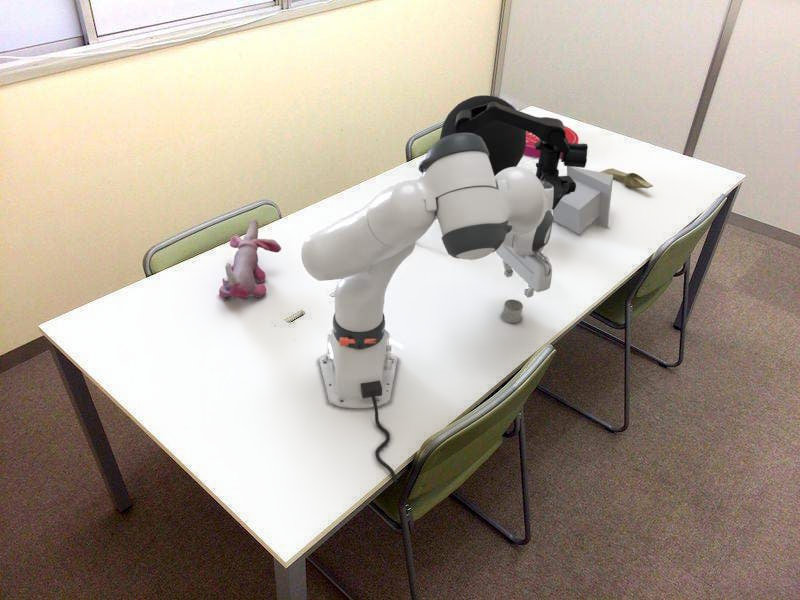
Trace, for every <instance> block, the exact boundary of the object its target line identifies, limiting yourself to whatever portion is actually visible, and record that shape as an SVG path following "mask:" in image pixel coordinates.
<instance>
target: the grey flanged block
mask: <svg viewBox="0 0 800 600" xmlns="http://www.w3.org/2000/svg"><path fill="white" fill-rule="evenodd" d="M601 172H602V171H601ZM601 172H600V171H596V170H591V169H585V168H580V167H570V166H566V176H570V177H571V179H572V180H573V181H574V182H575V183H576V190H575V192H571V193H570V194H567V195H565V196H563V197H562V199H561V200H560V201H559V203H558V204H557V206H556V207H555V209H554V210H552V215H553V218H554V220H553V222H555V223H557V224H559V225H561V226H563V227H565V228H567V230H570V231H572V232H573V233H575V234H577V235H581V234H582V233H583V232H584V231H585V230H586V229H587V228H588V227H589V226H590V225H591V224H593V222H595V223H598V224H599V225H602V226H603V227H606V228H609V219H610V210H611V199H612V193H613V192H612V191H613V182H614V181H613V180H614V178H613V175H611V174H606V173H601Z"/></svg>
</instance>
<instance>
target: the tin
mask: <svg viewBox="0 0 800 600" xmlns="http://www.w3.org/2000/svg"><path fill="white" fill-rule="evenodd" d="M523 309H524V305H523V303H522V302H521V301H520V300H518V299H507V300H505V302H504V304H503V310H502V315H501V317H502V318H501V319H502V320H503V321H505V323H509V324H517V323H519V322H520V321H521V318H522V314H523Z"/></svg>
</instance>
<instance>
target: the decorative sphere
mask: <svg viewBox="0 0 800 600" xmlns="http://www.w3.org/2000/svg"><path fill="white" fill-rule="evenodd" d="M490 102H497V103H499V104H501V105H503V106H506V107H509V108H512V109H515V110H517V109H516V108H515V107H514V106H513V105H512V104H511V103H509V102H507V101H506V100H505V99H503V98H501V97H498V96H494V95H486V94H485V95H482V94H481V95H476V96H472V97H469V98H467V99H465V100H462V101H461V102H459V103H458V104H457V105H456V106H454V107H453V109H452V110H451V111H449V113H447V116H446V118H445V120H444V122H443V123H442V127H441V132H440V137H439V140H440V139H441V138H443V137H446V136H449V135H452V134H456V130H455V124H456V117H457V114H458V113H459V112H460V111H462V110H470V109H472V108H474V107H477V106H482V105H486V104H488V103H490ZM475 135H478V136H480V137H481V138H482V139H483V141H484V143H485V145H486V147H487V149H488V152H489V161H490V163H491V167H492V170H493V173H494V177H495V176H496V175H497V174H498V173H499V172H500V171H502V170H504V169H506V168H509V167H518V165H519V163H520V162H521V160H522V159H523V157H524V155H523V154H524V151H525V148H526V131H524V130H521V129H519V128H516V127H513V126H510V125H507V124H504V123H501V122H499V121H496V120H494V121H491V122H489V123H488V124H486V125H485V126H483V127H482V128H480V129H478V130H476V131H475Z"/></svg>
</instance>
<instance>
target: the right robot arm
mask: <svg viewBox="0 0 800 600" xmlns="http://www.w3.org/2000/svg"><path fill="white" fill-rule="evenodd" d="M515 109H516V108H515ZM515 109H512V108H509V107H506V106H503V105H501V104H499V103H497V102H490V103H488V104H486V105H482V106H477V107H474V108H472V109H470V110H462V111H460V112H459V113H458V114H457V117H456V124H455V130H456V134H457V133H473V134H475V131H476V130H478V129H480V128H482V127H483V126H485V125H486V124H488V123H489V122H491V121H494V120H496V121H499V122H501V123H504V124H507V125H510V126H513V127H516V128H519V129H521V130H524V131H527V132H530V133H532V134H534V135H535V136H537V137H538V138H539V139H540V141H538V142H536V143H535V149H536V150H541V151H540V156H539V158H538V161H537V162H535V167H536V172H535V175H536V176H537V177H538V179H539V180H543V181H547V182H549V183H550V184H552V185H553V187H554V196H553V206H552V211H553V210H554V209H555V207H556V206H557V204H558V203H559V201H560V200H561V199H562V197H563V196H565V195H567V194H570V193H571V192H575V190H576V183H575V182H574V181H573V180H572V179H571V177H570V176H567V175H560V176H559V174H560V170H559V169H558V166H559V162H561V163H563V166H564V167H567V166H570V167H576V168H581V169H585V168H586V166H587V161H588V158H587V157H588V150H589V149H588V148H589V146H588V144H587V143H578V144H576V143H568V138H567V137H566V135H565V128H564V126H565V125H564V123H563V121H562V120H561V119H559V118H555V117H550V116H549V117H548V116H544V117H541V116H535V115H531V114H529V113H526V112H523V111H520V110H517V109H516V110H515ZM561 152H562V155H561V158H560V153H561Z"/></svg>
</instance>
